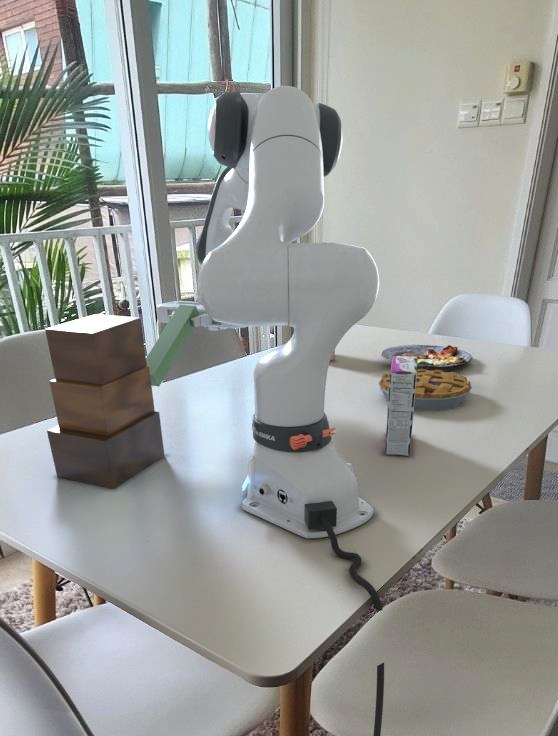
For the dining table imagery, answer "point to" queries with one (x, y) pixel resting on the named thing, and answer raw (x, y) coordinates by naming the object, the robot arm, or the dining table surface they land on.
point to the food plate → (430, 355)
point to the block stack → (102, 401)
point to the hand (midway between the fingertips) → (181, 321)
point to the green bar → (170, 343)
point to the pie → (434, 389)
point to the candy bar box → (401, 405)
